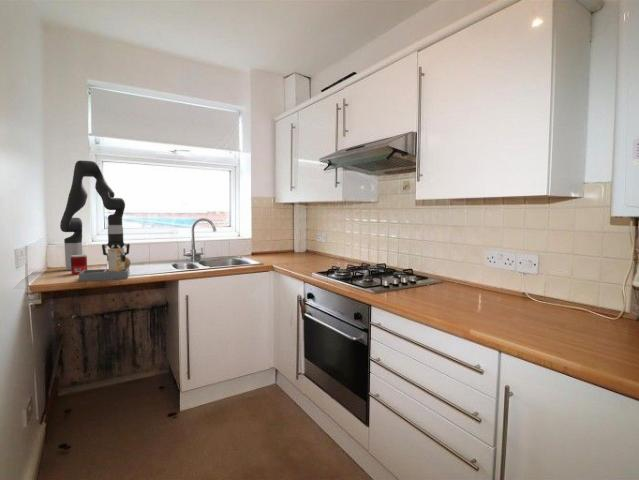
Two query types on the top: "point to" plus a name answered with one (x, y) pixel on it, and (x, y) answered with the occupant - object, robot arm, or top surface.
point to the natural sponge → (127, 263)
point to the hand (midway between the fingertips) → (116, 262)
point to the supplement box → (115, 260)
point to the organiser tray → (102, 274)
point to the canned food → (78, 263)
